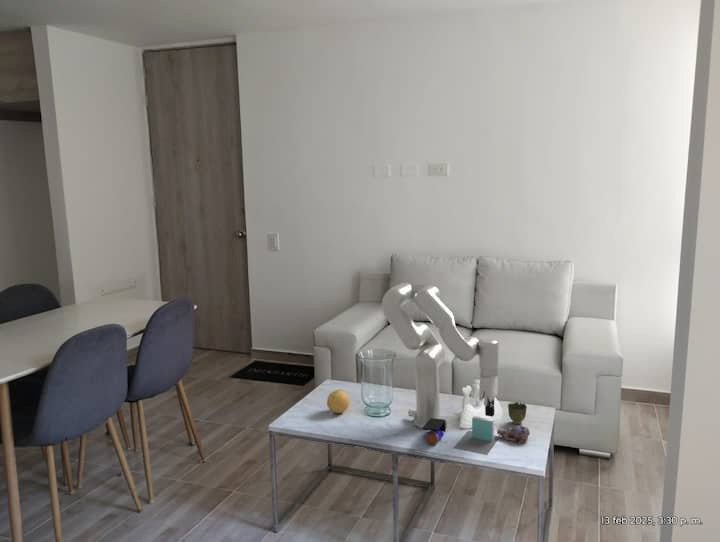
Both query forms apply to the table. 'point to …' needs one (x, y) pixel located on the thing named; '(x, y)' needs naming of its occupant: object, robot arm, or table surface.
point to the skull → (515, 434)
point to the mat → (475, 444)
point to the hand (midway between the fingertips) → (489, 415)
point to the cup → (517, 412)
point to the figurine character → (434, 430)
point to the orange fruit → (338, 401)
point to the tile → (483, 428)
